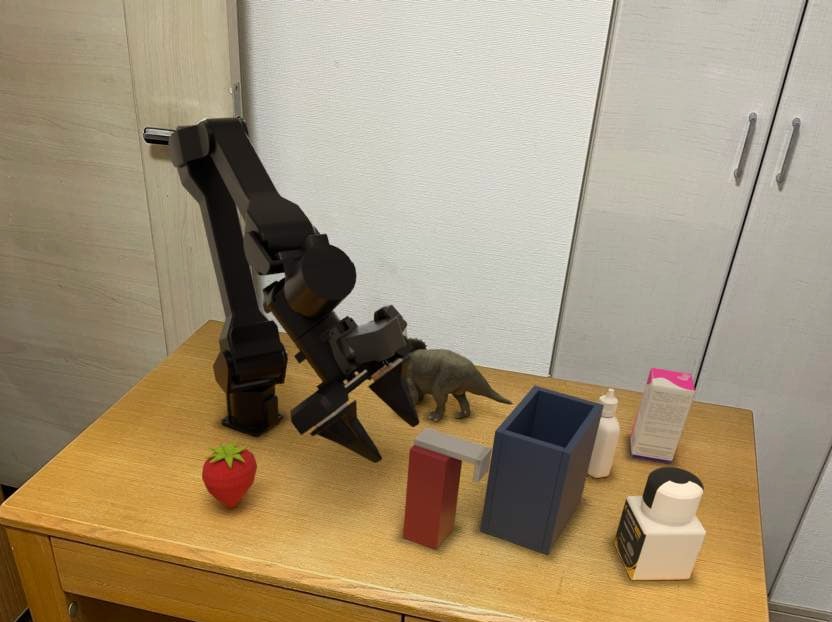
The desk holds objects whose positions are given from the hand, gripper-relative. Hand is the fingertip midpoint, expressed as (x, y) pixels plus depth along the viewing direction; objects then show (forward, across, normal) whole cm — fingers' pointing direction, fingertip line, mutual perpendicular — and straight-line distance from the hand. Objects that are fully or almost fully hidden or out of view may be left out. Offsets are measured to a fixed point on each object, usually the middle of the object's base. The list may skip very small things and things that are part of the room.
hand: (398, 442), depth 92 cm
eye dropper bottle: (+21, +25, -4) cm, 33 cm away
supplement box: (+25, +34, -9) cm, 43 cm away
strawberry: (-5, -8, +21) cm, 23 cm away
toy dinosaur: (+3, +27, +13) cm, 30 cm away
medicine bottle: (+29, +9, -13) cm, 33 cm away
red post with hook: (+13, 0, +3) cm, 13 cm away
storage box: (+18, +10, -2) cm, 21 cm away
